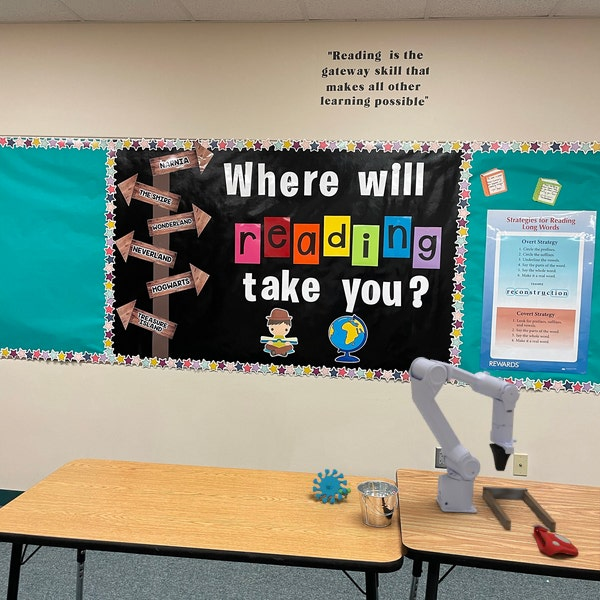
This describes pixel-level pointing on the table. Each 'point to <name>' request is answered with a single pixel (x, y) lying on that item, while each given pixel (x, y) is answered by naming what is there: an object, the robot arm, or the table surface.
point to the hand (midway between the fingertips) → (499, 470)
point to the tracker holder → (553, 542)
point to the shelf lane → (519, 494)
